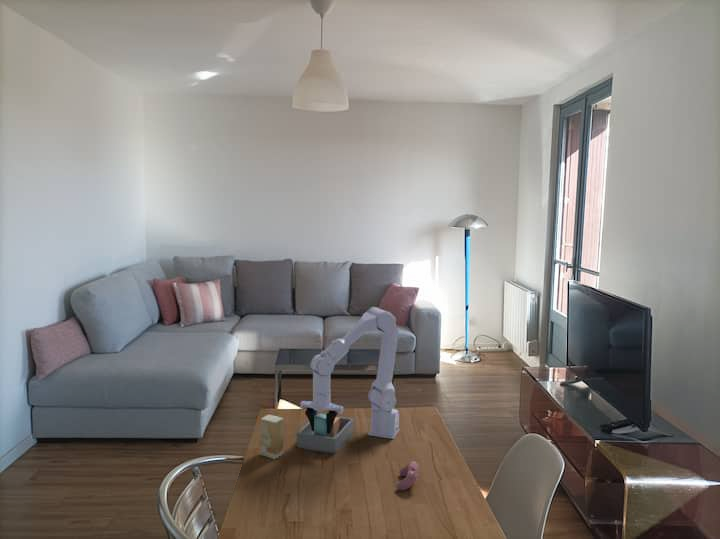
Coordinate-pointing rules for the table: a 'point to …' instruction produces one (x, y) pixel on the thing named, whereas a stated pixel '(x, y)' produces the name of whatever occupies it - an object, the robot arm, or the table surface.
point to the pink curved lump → (408, 475)
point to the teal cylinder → (320, 425)
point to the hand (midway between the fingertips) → (321, 431)
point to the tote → (323, 443)
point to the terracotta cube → (335, 427)
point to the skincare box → (272, 436)
